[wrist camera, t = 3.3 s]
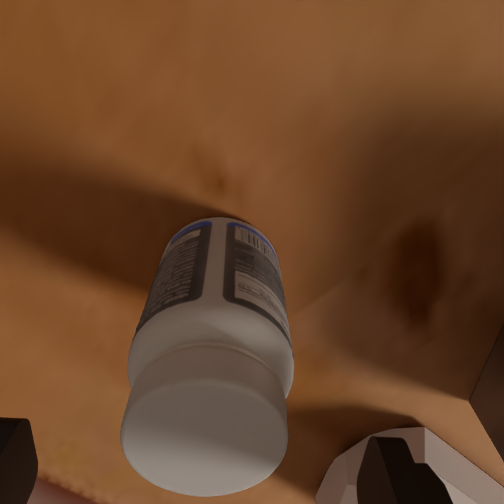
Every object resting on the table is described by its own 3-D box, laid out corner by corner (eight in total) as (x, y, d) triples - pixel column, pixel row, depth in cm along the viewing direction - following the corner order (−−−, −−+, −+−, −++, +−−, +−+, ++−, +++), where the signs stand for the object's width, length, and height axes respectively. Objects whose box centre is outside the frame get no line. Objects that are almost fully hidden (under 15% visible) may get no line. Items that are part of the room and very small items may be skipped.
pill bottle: (169, 316, 19) (118, 511, 11) (155, 215, 16) (79, 373, 9) (280, 313, 19) (302, 505, 11) (280, 211, 16) (307, 367, 9)
